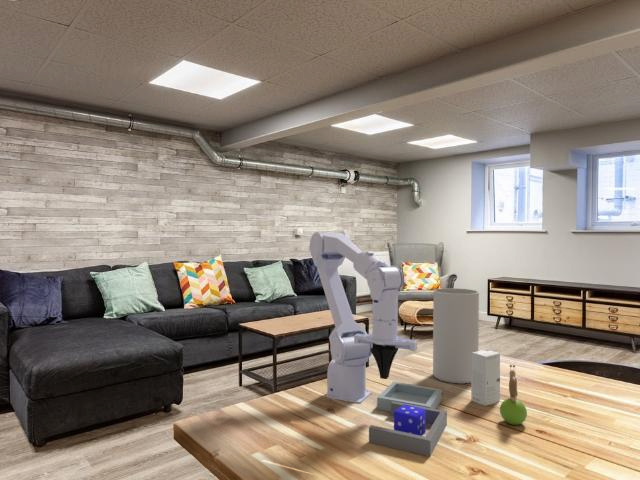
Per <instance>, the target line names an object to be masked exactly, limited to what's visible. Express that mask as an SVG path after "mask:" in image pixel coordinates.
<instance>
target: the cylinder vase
mask: <svg viewBox="0 0 640 480" xmlns="http://www.w3.org/2000/svg"><path fill="white" fill-rule="evenodd" d="M432 307H433V308H432V309H433V311H432V313H433V314H432V315H433V316H432V317H433V318H432V320H433V322H432V326H433V327H432V329H433V331H432V374H433V376H434V378H436V379H437V380H439V381H441V382H445V383H448V384H449V383H450V384H455V383H458V384H459V385H462V384H463V385H464V384H465V383H467V384H471V365H472V352H477V351H479V345H480V344H479V333H480V332H479V331H480V329H479V326H480V325H479V323H480V321H479V320H480V319H479V318H480V291H479V290H475V289H467V288H456V287H454V288H453V287H451V288H450V287H448V288H445V287H443V288H434V289H433V304H432ZM458 384H457V385H458Z"/></svg>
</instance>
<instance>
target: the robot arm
mask: <svg viewBox="0 0 640 480" xmlns="http://www.w3.org/2000/svg"><path fill="white" fill-rule="evenodd" d="M309 240H310V241H309V246H308V247H309V252H310V255H311V258H312V262H313V264H314V266H315V267H316V269H317V272H318V276H319V278H320V282H321V285H322V288H323V291H324V295H325V298H326V301H327V304H328V308H329V311H330V314H331V316H332V317H331V318H332V321H333V325H334V329H332V331H331V333H330V334H329V337H328V339H329V345H330V355H331V357H332V359H331V361H330V362H329V364H328V366H327V379H326V380H327V384H326V385H327V388H326V393H327V394H326V395H325V397H326V398H329V399H334V400H339V401H344V402H350V403H355V404H361V403H363V401H365V400H366V399H367V398H369V396H370V395H371V394H372V391H369V390H366V389H367V387H366V386H367V385H366V384H367V379H366V378H367V376H366V374H367V372H366V371H367V370H366V369H367V366H366V364H367V362H369V358H371V356H373V358H374V360H375V363H376V366H377V369H378V373H379V377H380V379H382V380H387V379H389V376H390V373H391V372H390V371H391V369H392V368H391V367H392V365H393V361H394V359H395V357H396V354H397V353H398V351H399V349H402V350H409V351H411V352H415V351H416V350H417V349H418V340H414V339H408V338H405V337H400V336H398V326H399V325H398V317H399V316H398V315H399V314H398V311H399V309H398V304H399V297H398V296H399V295H398V294H399V293H398V292H399V290H400V289H401V288H402V287H403V285H404V275H403V271H402V270H401V269H400V268H399V267H398V266H397V265H387V264H386V262H385V261H384V260H382V259H380V258H378V257H377V256H376V255H374V254H375V252H373V251H372V250H365V251H362V250H361V249H360V248H359V247H358V246H357V245H355V244H354V243H353V242H352V241H351V237H350V235H348V234H347V233H346V232H343V231H341V232H318V231H317V232H314V233H313V234H312V235H311V237H310V239H309ZM345 259H347V260H348V261H350V262H351V263H353V264H352V265H353V269H354V271H356V273H358V274H359V275H360V276H361V277H363V278H364V279H366V282H367V286H368V288H369V293H370V294H369V295H370V299H371V300H372V327H371V329H372V334H369V333H368V332H367V331H366V329H365V326H363V325H361V324H359V323H358V322H357V321H355V319H354V318H355V317H354V315H353V312H352V309H351V306H350V302H349V301H348V297H347V294H346V292H345V288H344V286H343V282H342V280H341V276H340V272H339V270H338V268H339V267H340V266H342V265H343V263H344V261H345Z"/></svg>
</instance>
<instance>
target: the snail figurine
mask: <svg viewBox="0 0 640 480" xmlns="http://www.w3.org/2000/svg"><path fill="white" fill-rule="evenodd" d="M509 367H510V368H516V365H515V364H513V365H512V364H509ZM508 373H509V383H508V390H509V391H508V392H509V396H510V397H509V398H507V399H504V400H503V401H502V402H501V403H500V406H499V413H500V416H501V418H502V419H503V420H504V421H505V422H506V423H507V424H510V425H514V426H518V425H521V424H523V423H524V422H525V421H526V419H527V417H528V411H527V407H526V406H525V404H524V403H523V402H522V401H521V400H519V399H518V380H517V377H516V371H515V369H510V371H509V372H508Z"/></svg>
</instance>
